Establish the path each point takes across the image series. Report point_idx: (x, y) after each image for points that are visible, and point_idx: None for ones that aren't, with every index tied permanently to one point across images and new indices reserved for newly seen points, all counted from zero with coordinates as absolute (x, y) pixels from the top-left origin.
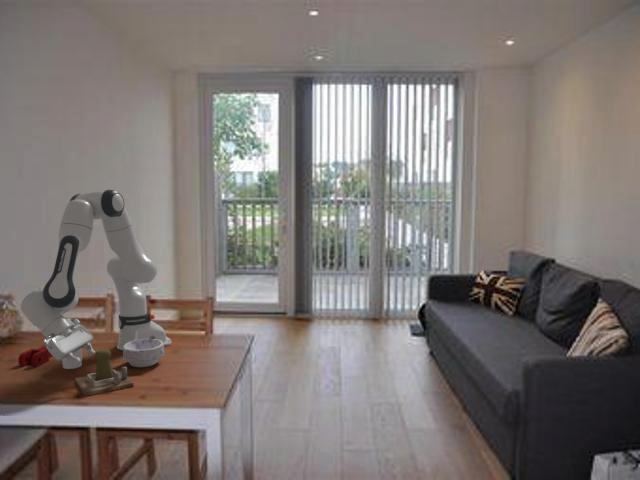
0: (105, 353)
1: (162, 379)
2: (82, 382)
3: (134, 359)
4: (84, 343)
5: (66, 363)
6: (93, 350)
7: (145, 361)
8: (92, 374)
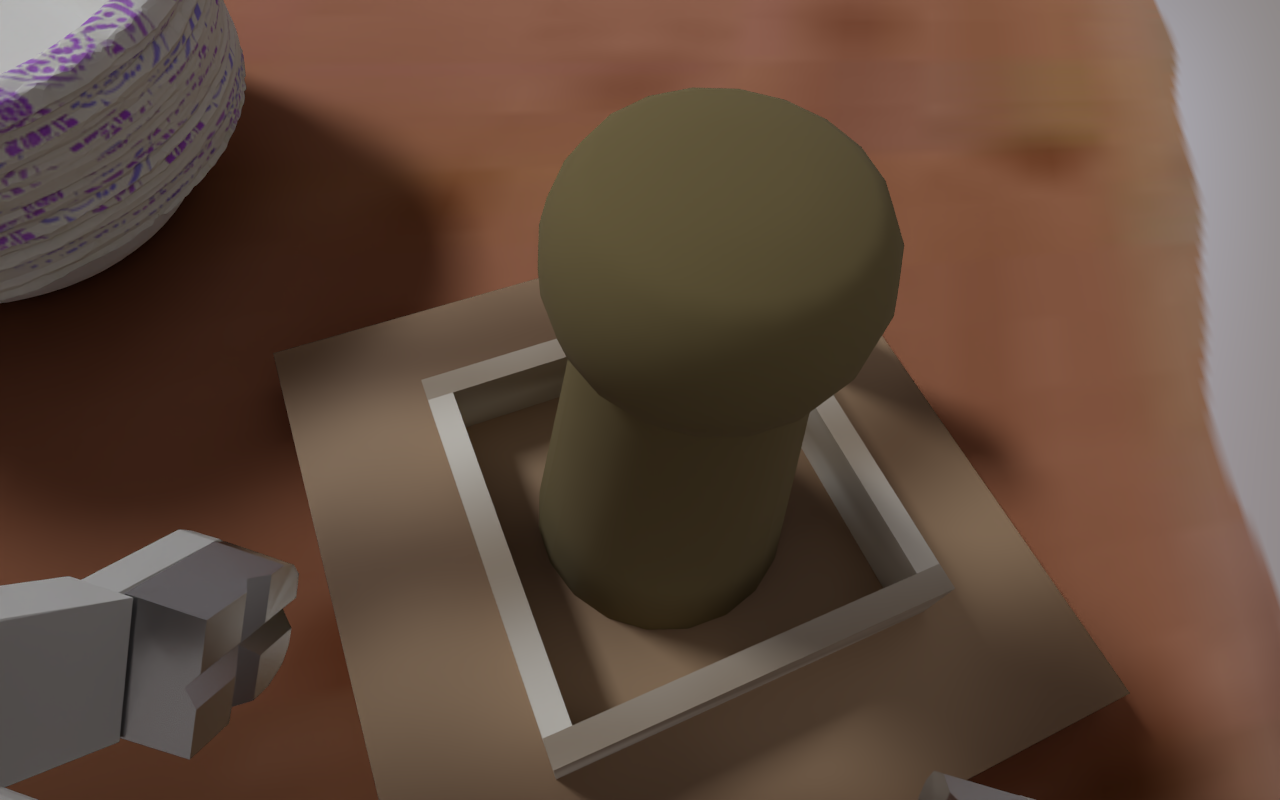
0: (861, 153)
1: (629, 49)
2: None
3: (185, 149)
4: (28, 797)
5: None
6: (158, 559)
7: (242, 82)
8: (554, 676)
